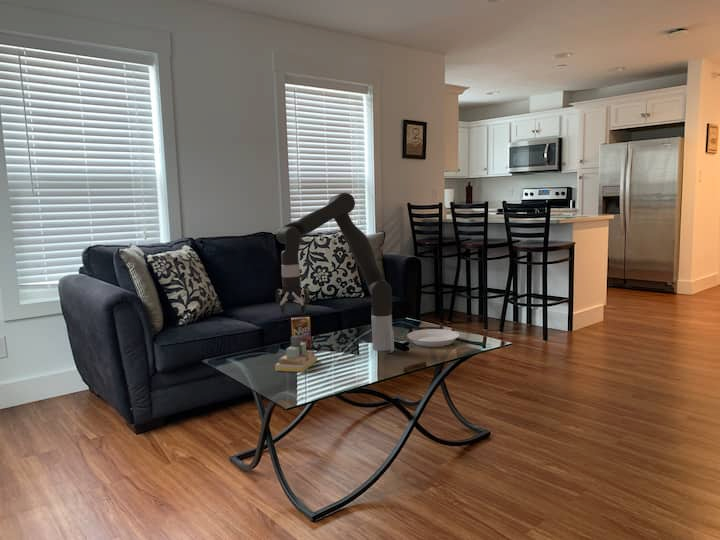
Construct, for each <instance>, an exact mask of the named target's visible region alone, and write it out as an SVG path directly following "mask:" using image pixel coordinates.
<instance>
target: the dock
mask: <svg viewBox="0 0 720 540" xmlns="http://www.w3.org/2000/svg"><path fill="white" fill-rule="evenodd" d="M317 361H318V356H317V354H314V356H313V357H311V358H310V359H309V360H307V361H306V362H305V363H303V364H302V365H292V364H279V362H277V363H275V365H274V366H275V367H274V368H275V369H274V370H275V372H293V373H294V372H296V373H303V372H305V371H306V370H307V369H309V368H310V367H311V366H312V365H314V364H315V363H316V362H317Z"/></svg>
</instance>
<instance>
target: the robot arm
mask: <svg viewBox="0 0 720 540" xmlns="http://www.w3.org/2000/svg"><path fill="white" fill-rule="evenodd" d="M355 207H356V200H355V198H354V197H353V195H352V194H350V193H348V192H341V193H339V194H336V195H334V196H332V197H330V198H329V200H328V203H327V205H325V206H323V207H321V208H319V209H317V210H315V211H312V212H311V213H308V214H305V215H304V216H302V217H301V218H299V219H298V220H295V221H293V222H290V223H288V224H285V225H283V226H281V227H279V229H278V230H277V231H276V235H275V236H276V237H275V238H276V240H277V241H278V243H280V244H283V245H285V250H282V251H281V254H280V257H281V258H280V259H281V283H282V289H281V288H277V289H276V290H275V304H276V305H280V311H281V314H282V315H286V314H287V306H286V302H288V300H289V301H291V300H293V301H295V300H296V301H297V302H298V303H299V304H300V310H301V312H300V313H301V314H300V315H305V314H306V311H307V306H306V305H307V304H309V303H311V301H310V292H309V288H304V289H302V283H301V282H302V281H301V269H300V268H301V267H300V261H299V251H300V246H301V236H302V237H303V236H307V235H308V234H310V233H312V232H313V231H315V230H317V229H318V228H320V227H321V226H323V225H324V224H327V223H328V222H329V221H331V220H334V221H335V222H336V224H337V226H338V228H339V229H340V231H341V233H342V236H343V237H344V239H345V242H346V244H347V246H348V249H349V250H350V253H351V254H352V257H353V258H354V261H355V262H356V265H357V266H358V267H359V270H360V271H361V272H362V274H363V276H364V278H365V279H364V280H365V282H366V285H367V287H368V291H369V294H370V295H371V309H370V314H371V318H370V320H371V334H372V335H371V337H372V339H371V340H372V351H375V352H387V354H392V353H393V352H394V351H395V337H394V329H393V315H392V310H393V291H392V286H391V285H390V283H389V282H388V281H386V279H385V278H384V277H383V275H382V273H381V271H380V270H379V267H378V264H377V261H376V257H375V253H374V251H373V248H372V246H371V245H372V244H371V243H370V241H369V238H368V237H367V235H365V233H364V232H363V231H362V230H361V229H360V228H358V226H357V225H355V224H354V221H352V219H351V217H350V215H349V213H351V212H353V210H354V209H355ZM282 294H283V297H282ZM302 294H303V296H304V297H303V296H302Z"/></svg>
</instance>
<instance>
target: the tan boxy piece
mask: <svg viewBox="0 0 720 540" xmlns="http://www.w3.org/2000/svg"><path fill="white" fill-rule="evenodd" d="M290 347H299V357H298V358H296V359H287V355H286V354H285V355H283V356H281V357H280V358H278V363H279V364H292V365H302V364H303V363H305V362H306V361H307V360H309V359H310V358H311V357H313V356H314V355H315V350H306V352H305V353H304V354H301V340H300V336H296V335H294V336H292V335H291V336H290Z"/></svg>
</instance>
